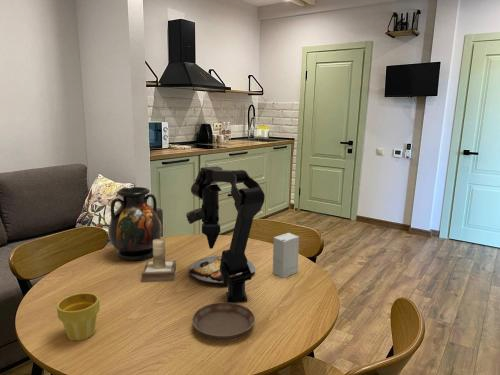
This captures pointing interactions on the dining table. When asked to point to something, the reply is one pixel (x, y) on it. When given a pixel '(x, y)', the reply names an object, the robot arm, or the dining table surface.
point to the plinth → (159, 272)
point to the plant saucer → (223, 321)
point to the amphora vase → (134, 224)
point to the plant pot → (79, 314)
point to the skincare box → (285, 255)
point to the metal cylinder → (159, 253)
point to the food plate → (211, 269)
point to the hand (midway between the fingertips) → (210, 243)
